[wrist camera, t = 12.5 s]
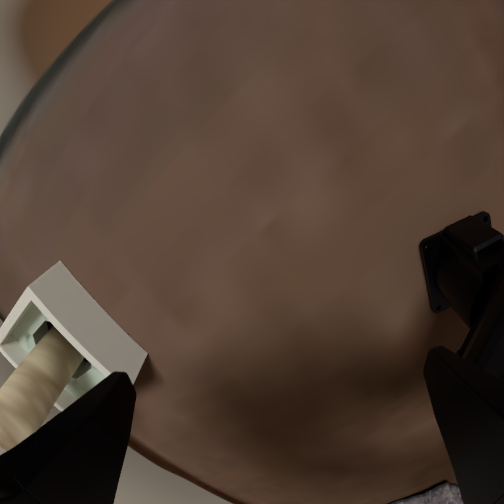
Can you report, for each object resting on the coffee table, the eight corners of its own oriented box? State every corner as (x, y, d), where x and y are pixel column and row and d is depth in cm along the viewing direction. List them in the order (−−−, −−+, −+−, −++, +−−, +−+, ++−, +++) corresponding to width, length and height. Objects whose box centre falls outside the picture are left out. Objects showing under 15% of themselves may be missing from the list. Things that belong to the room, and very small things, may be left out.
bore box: (147, 353, 25) (130, 390, 21) (88, 390, 28) (71, 420, 23) (60, 260, 22) (28, 286, 18) (16, 317, 25) (-8, 342, 21)
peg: (100, 347, 25) (32, 459, 13) (73, 355, 26) (9, 455, 14) (74, 311, 24) (-11, 417, 12) (49, 322, 25) (-29, 417, 13)
